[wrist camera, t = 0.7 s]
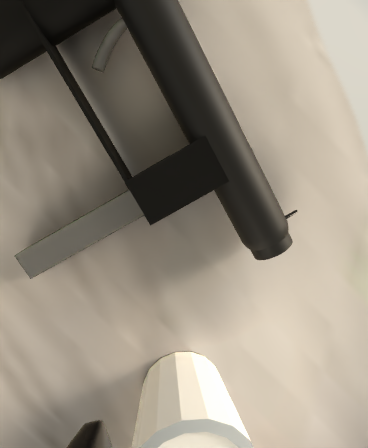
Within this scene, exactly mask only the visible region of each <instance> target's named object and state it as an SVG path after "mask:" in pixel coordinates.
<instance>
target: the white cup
mask: <svg viewBox="0 0 368 448" xmlns="http://www.w3.org/2000/svg"><path fill="white" fill-rule="evenodd" d="M132 448H254V447H253V445H252V443H251V440H250V438H249V436H248V434H247V432H246V430H245V428H244V426H243V423H242V421H241V419H240V417H239V415H238V413H237V411H236V409H235V407H234V404H233V402H232V400H231V398H230V396H229V394H228V392H227V390H226V388H225V386H224V383H223V381H222V379H221V377H220V375H219V373H218V371H217V369H216V367H215V365H214V364H213V363H211V362H210V361H209V360H208V359H207V358H206V357H205V356H202V355H199V354H196V353H193V352H174V353H172V354H170V355H167V356H165V357H163V358H160V359H159V360H158V361H157V362H156V363H155V364H154V365H153V366H152V367H151V368H150V369H149V371H148V373H147V376H146V378H145V380H144V382H143V388H142V393H141V399H140V404H139V410H138V415H137V421H136V426H135V432H134V437H133V443H132Z"/></svg>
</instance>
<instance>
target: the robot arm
mask: <svg viewBox="0 0 368 448" xmlns="http://www.w3.org/2000/svg"><path fill="white" fill-rule="evenodd" d="M67 448H112V445H111V442H110V439H109V436H108V433H107V430H106V427H105V424H104V422H103V421H100V420H99V421H94V422H89V423H86V424H85V425H83V427H82V428H81V429H80V431H79V432H78V433H77V434H76V436H75V437H74V438H73V440H72V441H71V442H70V444H69V445H68V446H67Z"/></svg>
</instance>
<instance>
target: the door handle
mask: <svg viewBox="0 0 368 448" xmlns="http://www.w3.org/2000/svg"><path fill="white" fill-rule="evenodd" d="M116 8H117V10H118V11H119V13H120V15H121V17H122V18H121V19H119V20H118V21H117V22H116V23H115V24H114V25H113V26H112V28H111V29H110V30H109V32H108V33H107V34H106V36H105V38H104V39H103V41H102V43H101V45H100V47H99V49H98V51H97V54H96V56H95V59H94V62H93V65H92V68H93V69H95V70H97V71H100V72H104V70H105V67H106V64H107V61H108V58H109V56H110V54H111V51H112V49H113V47H114V46H115V44H116V42H117V40H118V39H119V37H120V36H121V35H122V33H123V32H124V31H125V30H126V29H127V28H128V30H129V32H130V34H131V36H132V38H133V39H134V41H135V43H136V45H137V47H138V49H139V51H140V52H141V54H142V56H143V58H144V60H145V62H146V64H147V66H148V67H149V69H150V71H151V73H152V75H153V77H154V79H155V80H156V82H157V84H158V86H159V88H160V90H161V92H162V93H163V95H164V97H165V99H166V101H167V103H168V105H169V107H170V108H171V110H172V112H173V114H174V116H175V118H176V120H177V121H178V123H179V125H180V127H181V129H182V131H183V133H184V135H185V136H186V138H187V140H188V142H189V145H188V146H186V147H184V148H182V149H181V150H179V151H177V152H175V153H174V154H172V155H170V156H168V157H167V158H165V159H163V160H161V161H160V162H158V163H156V164H154V165H153V166H151V167H149V168H147V169H146V170H144V171H142V172H140V173H139V174H137V175H135V176H133V177H132V175H131V174H130V172H129V170H128V169H127V167H126V165H125V163H124V162H123V160H122V158H121V157H120V155H119V153H118V152H117V150H116V148H115V146H114V145H113V143H112V141H111V140H110V138H109V136H108V135H107V133H106V131H105V129H104V128H103V126H102V124H101V123H100V121H99V119H98V118H97V116H96V114H95V112H94V111H93V109H92V107H91V106H90V104H89V102H88V101H87V99H86V97H85V95H84V94H83V92H82V90H81V89H80V87H79V85H78V84H77V82H76V80H75V78H74V77H73V75H72V73H71V72H70V70H69V68H68V67H67V65H66V63H65V61H64V60H63V58H62V56H61V55H60V53H59V51H58V50H57V48H56V45H57V44H59V43H61V42H62V41H64V40H65V39H67V38H69V37H70V36H72V35H74V34H75V33H77V32H79V31H80V30H82V29H83V28H85V27H87V26H88V25H90V24H92V23H93V22H95V21H97V20H98V19H100V18H101V17H103V16H105V15H106V14H108V13H110V12H111V11H113V10H115V9H116ZM46 51H47V52H48V54H49V55H50V57H51V59H52V60H53V62H54V64H55V65H56V67H57V69H58V71H59V72H60V74H61V76H62V77H63V79H64V81H65V82H66V84H67V86H68V87H69V89H70V91H71V92H72V94H73V96H74V97H75V99H76V101H77V102H78V104H79V106H80V107H81V109H82V111H83V112H84V114H85V116H86V118H87V119H88V121H89V123H90V124H91V126H92V128H93V129H94V131H95V133H96V134H97V136H98V138H99V139H100V141H101V143H102V144H103V146H104V148H105V149H106V151H107V153H108V154H109V156H110V158H111V159H112V161H113V163H114V165H115V166H116V168H117V170H118V171H119V173H120V175H121V176H122V178H123V180H124V181H125V184H126V185H127V187H128V189H129V190H128V191H126V192H124V193H123V194H121V195H119V196H117V197H116V198H114V199H112V200H110V201H108V202H107V203H105V204H103V205H101V206H100V207H98V208H96V209H94V210H93V211H91V212H89V213H87V214H86V215H84V216H82V217H80V218H79V219H77V220H75V221H73V222H72V223H70V224H68V225H66V226H65V227H63V228H61V229H59V230H58V231H56V232H54V233H52V234H50V235H49V236H47V237H45V238H43V239H42V240H40V241H38V242H36V243H35V244H33V245H31V246H29V247H28V248H26V249H24V250H23V251H21V252H20V253H18V254H17V255H15V257H16V259H17V260H18V262H19V263H20V265H21V266H22V267H23V269H24V270H25V272H26V273H27V274H28V276H29V277H30V279H31V278H33V277H35V276H37V275H39V274H40V273H42V272H44V271H46V270H47V269H49V268H51V267H53V266H55V265H56V264H58V263H60V262H62V261H64V260H65V259H67V258H69V257H71V256H72V255H74V254H76V253H78V252H80V251H81V250H83V249H85V248H87V247H88V246H90V245H92V244H94V243H96V242H97V241H99V240H101V239H103V238H105V237H106V236H108V235H110V234H112V233H113V232H115V231H117V230H119V229H121V228H122V227H124V226H126V225H128V224H129V223H131V222H133V221H135V220H137V219H138V218H140V217H142V216H144V215H145V217H146V219H147V220H148V222H149V224H150V225H152V224H154V223H156V222H157V221H159V220H161V219H163V218H165V217H166V216H168V215H170V214H172V213H174V212H175V211H177V210H179V209H181V208H183V207H184V206H186V205H188V204H190V203H191V202H193V201H195V200H197V199H199V198H200V197H202V196H204V195H206V194H208V193H209V192H211V191H213V190H215V192H216V194H217V196H218V198H219V200H220V202H221V204H222V205H223V207H224V209H225V211H226V213H227V215H228V217H229V218H230V220H231V222H232V224H233V226H234V228H235V230H236V231H237V233H238V235H239V237H240V239H241V241H242V242H243V244H244V245H245V246H246V247H247V248H248V249H250V250H251V252H252V254H253V256H254V258H255V259H257V260H266V259H270V258H273V257H275V256H278V255H280V254H281V253H283V252H285V251H286V250H287V249H288V248H289V247H290V246H291V245H292V239H291V237H290V235H289V233H288V223H287V220H286V219H287V218H289V217H290V215H291V216H292V214H293V215H294V213H296V212H297V210H295V211H293V212H291V213H290V214H288V215H286V216H284V214H283V212H282V210H281V208H280V206H279V204H278V201H277V199H276V197H275V195H274V193H273V191H272V189H271V187H270V185H269V183H268V181H267V179H266V177H265V175H264V173H263V171H262V169H261V167H260V165H259V163H258V161H257V159H256V157H255V155H254V153H253V151H252V149H251V147H250V145H249V143H248V141H247V139H246V137H245V135H244V133H243V131H242V129H241V127H240V125H239V123H238V121H237V119H236V117H235V115H234V113H233V111H232V109H231V107H230V105H229V103H228V101H227V99H226V97H225V95H224V93H223V91H222V89H221V87H220V84H219V82H218V80H217V78H216V76H215V74H214V72H213V70H212V68H211V66H210V64H209V62H208V60H207V58H206V56H205V54H204V52H203V50H202V48H201V46H200V44H199V42H198V40H197V38H196V36H195V34H194V32H193V30H192V28H191V26H190V24H189V22H188V20H187V18H186V16H185V14H184V12H183V10H182V8H181V6H180V4H179V2H178V0H0V79H1V78H3V77H5V76H7V75H8V74H10V73H12V72H13V71H15V70H16V69H18V68H20V67H21V66H23V65H25V64H26V63H28V62H30V61H31V60H33V59H34V58H36V57H38V56H39V55H41V54H43V53H44V52H46ZM288 216H289V217H288ZM286 217H287V218H286Z"/></svg>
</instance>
